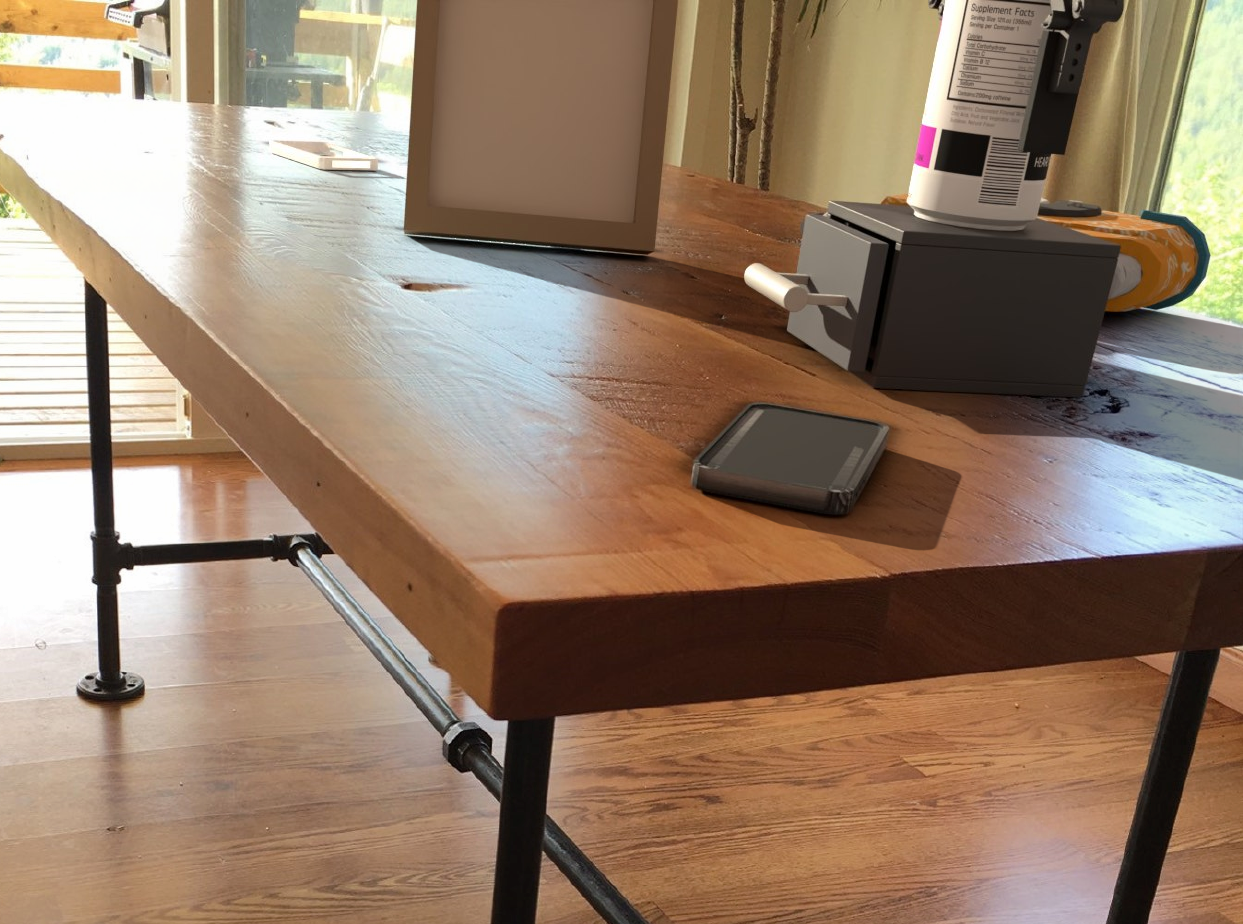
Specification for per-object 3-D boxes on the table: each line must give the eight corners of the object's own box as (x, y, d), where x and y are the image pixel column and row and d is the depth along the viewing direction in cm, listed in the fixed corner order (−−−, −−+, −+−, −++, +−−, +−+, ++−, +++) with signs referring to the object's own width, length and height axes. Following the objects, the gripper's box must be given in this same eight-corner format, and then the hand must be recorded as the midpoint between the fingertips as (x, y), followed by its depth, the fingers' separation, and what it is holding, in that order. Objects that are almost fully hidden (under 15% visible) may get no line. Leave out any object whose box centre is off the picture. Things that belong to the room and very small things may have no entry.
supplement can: (878, 210, 100) (926, -46, 93) (973, 212, 103) (1025, -34, 97) (964, 232, 94) (1021, -41, 87) (1061, 233, 97) (1123, -28, 90)
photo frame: (653, 263, 132) (693, -60, 121) (403, 241, 131) (420, -87, 120) (634, 236, 146) (669, -57, 134) (407, 217, 144) (423, -81, 133)
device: (1150, 236, 112) (790, 175, 127) (1120, 348, 116) (774, 277, 131) (1228, 217, 129) (901, 166, 144) (1199, 316, 132) (884, 256, 148)
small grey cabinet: (873, 388, 96) (903, 230, 92) (804, 343, 107) (828, 200, 103) (1082, 398, 99) (1122, 245, 94) (994, 352, 110) (1025, 214, 105)
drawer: (782, 368, 95) (804, 238, 91) (727, 327, 105) (745, 209, 101) (1042, 380, 98) (1072, 255, 95) (965, 340, 108) (990, 226, 105)
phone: (688, 465, 72) (752, 399, 85) (684, 488, 73) (749, 419, 85) (853, 495, 70) (894, 423, 83) (849, 519, 71) (889, 443, 83)
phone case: (267, 152, 181) (321, 170, 170) (267, 139, 180) (321, 157, 169) (323, 153, 184) (380, 171, 173) (323, 141, 184) (380, 158, 173)
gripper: (919, -239, 97) (858, 118, 106) (1128, -295, 75) (1028, 159, 84) (1026, -225, 99) (957, 125, 108) (1262, -277, 77) (1149, 168, 86)
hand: (988, 141), depth 96 cm, fingers open, 13 cm apart
